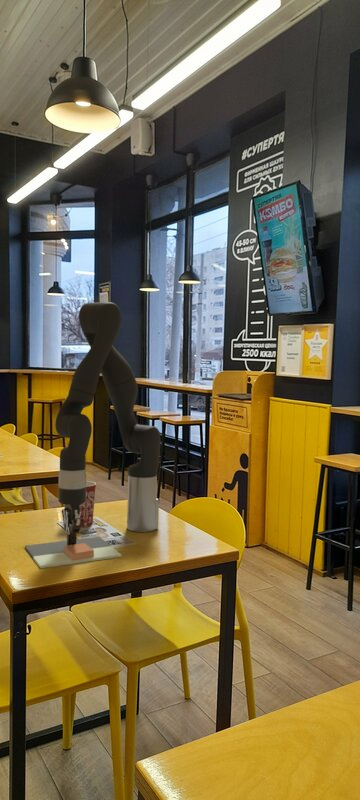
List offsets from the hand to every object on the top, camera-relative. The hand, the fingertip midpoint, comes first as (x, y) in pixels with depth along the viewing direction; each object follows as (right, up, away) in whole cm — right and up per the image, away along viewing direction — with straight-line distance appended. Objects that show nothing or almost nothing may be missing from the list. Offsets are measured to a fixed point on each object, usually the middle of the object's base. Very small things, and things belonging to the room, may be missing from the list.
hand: (71, 546), depth 155 cm
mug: (-3, 0, +30) cm, 30 cm away
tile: (+3, 0, -4) cm, 5 cm away
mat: (0, -1, 0) cm, 1 cm away
